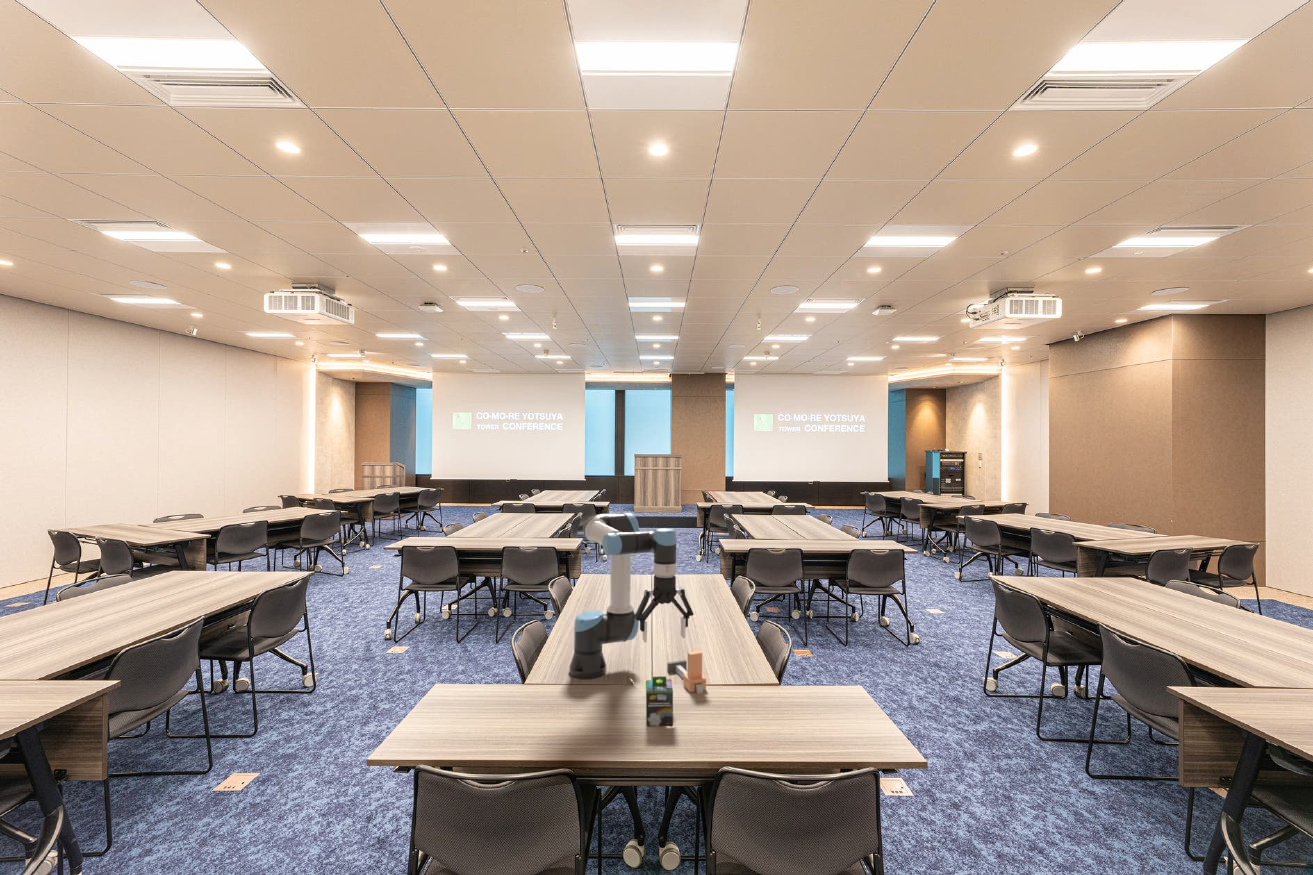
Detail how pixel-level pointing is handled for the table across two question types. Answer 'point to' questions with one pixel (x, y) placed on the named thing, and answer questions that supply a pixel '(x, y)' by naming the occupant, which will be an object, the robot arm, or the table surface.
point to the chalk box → (659, 702)
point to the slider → (694, 672)
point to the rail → (682, 672)
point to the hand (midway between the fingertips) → (664, 638)
